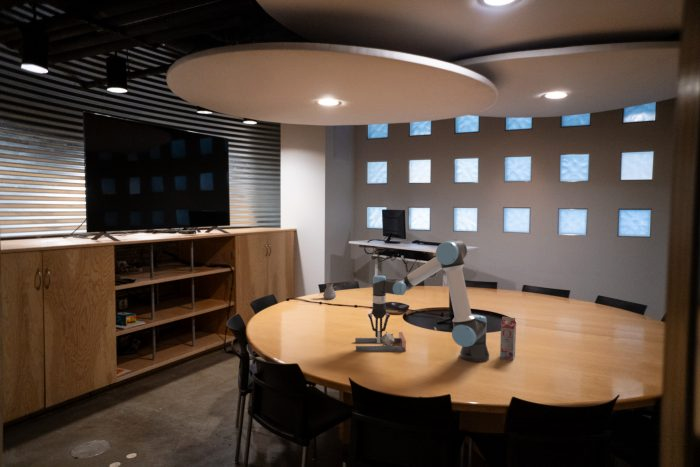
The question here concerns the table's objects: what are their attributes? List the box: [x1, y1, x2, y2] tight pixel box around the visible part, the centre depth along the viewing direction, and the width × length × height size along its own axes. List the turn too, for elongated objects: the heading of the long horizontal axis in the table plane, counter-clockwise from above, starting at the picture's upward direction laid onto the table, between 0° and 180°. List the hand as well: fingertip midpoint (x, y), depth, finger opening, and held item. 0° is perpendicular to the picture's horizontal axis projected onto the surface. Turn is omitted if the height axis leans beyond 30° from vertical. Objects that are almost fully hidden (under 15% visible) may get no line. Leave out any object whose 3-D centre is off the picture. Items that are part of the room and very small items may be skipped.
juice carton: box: [499, 316, 517, 361], centre depth 237 cm, size 7×7×22 cm
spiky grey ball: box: [380, 331, 396, 346], centre depth 255 cm, size 9×8×10 cm
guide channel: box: [354, 331, 407, 352], centre depth 255 cm, size 17×28×6 cm, turn 90°
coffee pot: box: [322, 282, 346, 300], centre depth 383 cm, size 21×12×15 cm, turn 63°
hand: (378, 342), depth 255 cm, fingers closed
